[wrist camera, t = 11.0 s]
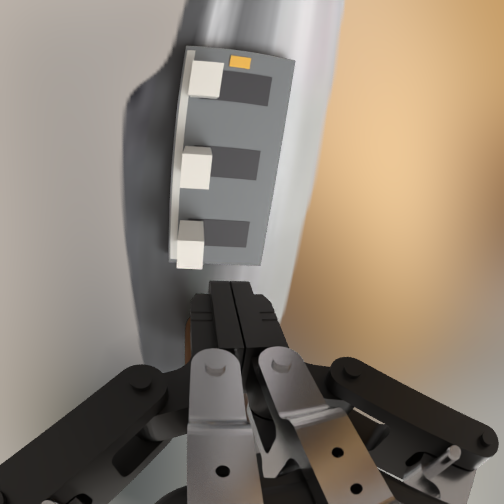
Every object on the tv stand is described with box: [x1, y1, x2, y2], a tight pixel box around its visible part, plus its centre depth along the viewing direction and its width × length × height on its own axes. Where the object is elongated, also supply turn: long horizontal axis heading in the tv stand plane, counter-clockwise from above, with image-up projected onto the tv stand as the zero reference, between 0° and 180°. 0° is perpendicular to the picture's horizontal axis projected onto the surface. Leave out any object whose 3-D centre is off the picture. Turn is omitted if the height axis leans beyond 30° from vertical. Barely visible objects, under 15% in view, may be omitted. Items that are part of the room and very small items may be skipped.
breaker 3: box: [177, 220, 204, 269], centre depth 29 cm, size 3×2×5 cm
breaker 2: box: [180, 146, 212, 190], centre depth 25 cm, size 3×2×5 cm
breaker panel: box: [169, 46, 295, 266], centre depth 29 cm, size 24×11×2 cm, turn 172°
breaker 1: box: [188, 61, 224, 99], centre depth 22 cm, size 3×2×5 cm
